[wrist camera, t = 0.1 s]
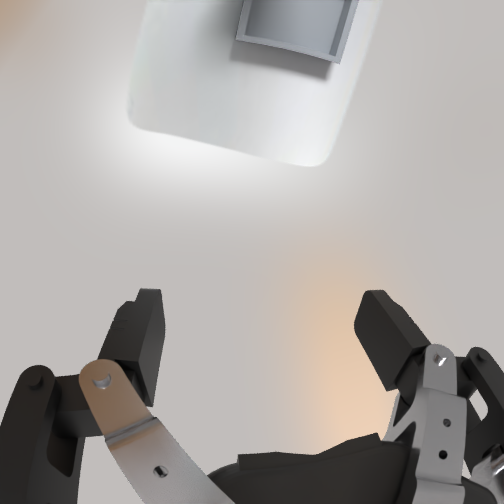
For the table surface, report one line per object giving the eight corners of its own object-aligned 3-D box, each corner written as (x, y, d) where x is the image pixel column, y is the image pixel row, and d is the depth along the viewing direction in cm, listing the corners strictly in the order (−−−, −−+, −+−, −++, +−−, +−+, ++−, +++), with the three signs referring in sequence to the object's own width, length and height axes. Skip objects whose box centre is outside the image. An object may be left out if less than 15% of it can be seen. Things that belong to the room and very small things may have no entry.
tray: (235, 39, 26) (235, 40, 24) (255, -44, 17) (257, -49, 15) (331, 60, 29) (339, 64, 27) (353, -16, 20) (363, -18, 18)
